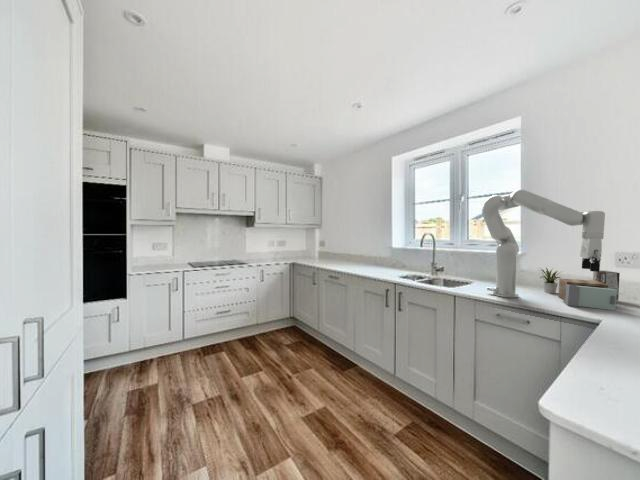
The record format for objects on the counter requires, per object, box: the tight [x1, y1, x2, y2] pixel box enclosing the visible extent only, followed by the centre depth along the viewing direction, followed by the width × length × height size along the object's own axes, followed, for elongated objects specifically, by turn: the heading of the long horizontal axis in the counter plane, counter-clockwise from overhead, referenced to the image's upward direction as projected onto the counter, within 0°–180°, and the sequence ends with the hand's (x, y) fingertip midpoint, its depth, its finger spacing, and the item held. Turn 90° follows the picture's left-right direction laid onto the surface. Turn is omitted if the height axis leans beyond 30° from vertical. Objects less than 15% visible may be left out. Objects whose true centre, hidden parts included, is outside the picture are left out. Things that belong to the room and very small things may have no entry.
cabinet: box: [558, 277, 608, 308], centre depth 142 cm, size 18×22×11 cm
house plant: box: [537, 267, 563, 294], centre depth 168 cm, size 14×14×16 cm
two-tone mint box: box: [564, 284, 617, 311], centre depth 134 cm, size 18×4×10 cm, turn 63°
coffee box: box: [592, 270, 620, 303], centre depth 149 cm, size 9×6×16 cm
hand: (590, 270), depth 134 cm, fingers open, 9 cm apart
